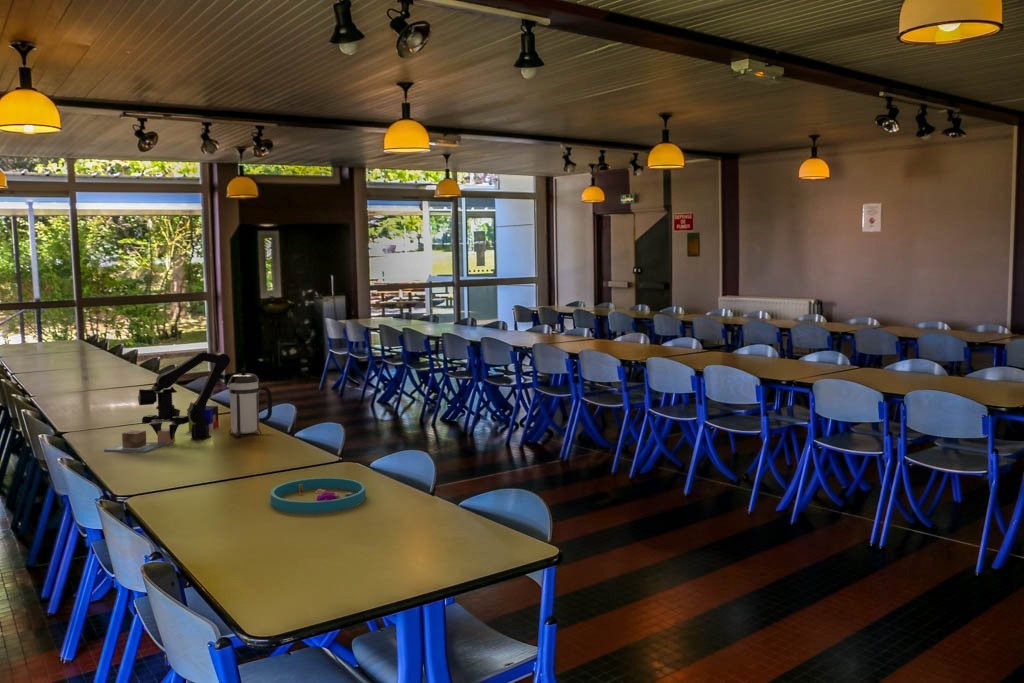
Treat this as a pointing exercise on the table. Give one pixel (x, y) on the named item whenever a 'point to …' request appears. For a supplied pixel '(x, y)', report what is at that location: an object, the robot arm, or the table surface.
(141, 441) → the walnut block
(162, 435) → the terracotta block
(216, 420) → the puzzle toy
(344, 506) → the teal ring
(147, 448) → the mat
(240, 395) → the coffee press
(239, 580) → the table surface
